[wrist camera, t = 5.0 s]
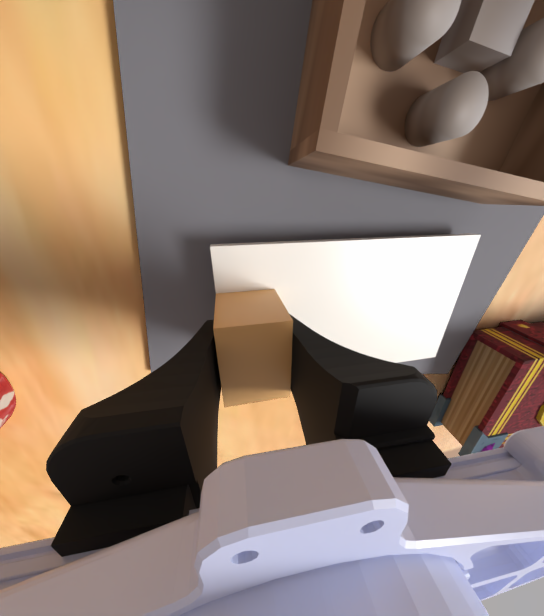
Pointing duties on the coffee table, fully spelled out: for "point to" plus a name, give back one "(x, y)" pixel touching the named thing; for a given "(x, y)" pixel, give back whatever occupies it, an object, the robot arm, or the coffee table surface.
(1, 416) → the mug
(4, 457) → the coffee table surface
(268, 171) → the mat
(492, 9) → the tub
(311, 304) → the lid
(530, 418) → the decorative book
